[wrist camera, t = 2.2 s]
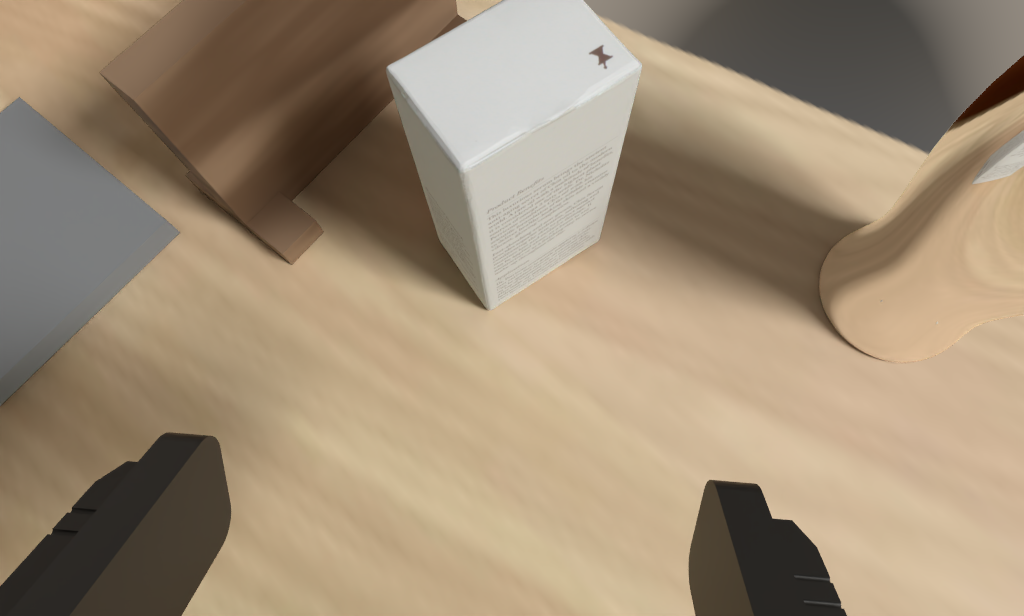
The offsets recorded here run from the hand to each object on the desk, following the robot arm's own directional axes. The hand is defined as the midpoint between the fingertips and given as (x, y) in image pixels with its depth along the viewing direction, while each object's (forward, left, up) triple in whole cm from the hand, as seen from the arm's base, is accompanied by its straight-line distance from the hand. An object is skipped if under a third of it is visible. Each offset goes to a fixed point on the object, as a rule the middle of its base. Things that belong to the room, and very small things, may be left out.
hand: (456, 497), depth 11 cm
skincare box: (-6, +10, -16) cm, 20 cm away
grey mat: (-23, -4, -16) cm, 29 cm away
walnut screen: (-16, +10, -16) cm, 25 cm away
